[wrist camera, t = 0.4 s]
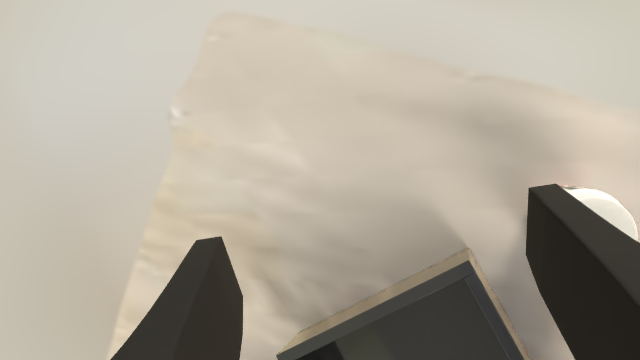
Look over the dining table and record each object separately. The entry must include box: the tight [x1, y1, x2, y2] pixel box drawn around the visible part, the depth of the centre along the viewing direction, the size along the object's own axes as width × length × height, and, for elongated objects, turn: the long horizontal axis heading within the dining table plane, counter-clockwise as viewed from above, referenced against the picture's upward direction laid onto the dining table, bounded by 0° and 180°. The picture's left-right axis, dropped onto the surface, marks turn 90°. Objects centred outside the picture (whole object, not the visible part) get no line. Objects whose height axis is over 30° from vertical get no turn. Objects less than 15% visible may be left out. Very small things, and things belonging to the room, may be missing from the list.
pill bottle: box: [560, 185, 638, 241], centre depth 33 cm, size 5×5×8 cm
